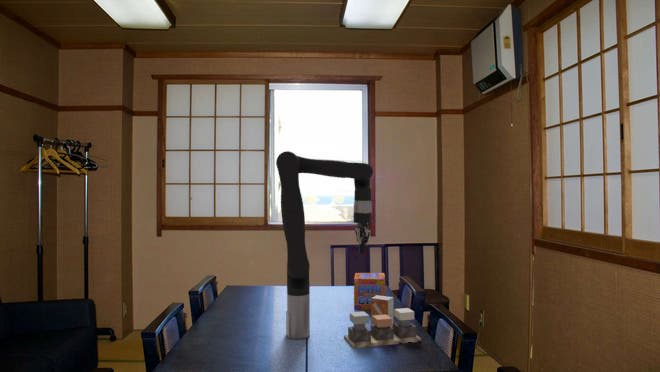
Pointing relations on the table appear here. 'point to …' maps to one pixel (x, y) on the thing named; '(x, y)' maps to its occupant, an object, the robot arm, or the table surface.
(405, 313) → the plunger cream
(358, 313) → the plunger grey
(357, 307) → the game box
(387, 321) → the plunger terracotta
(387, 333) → the button board
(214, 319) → the table surface
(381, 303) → the small box
